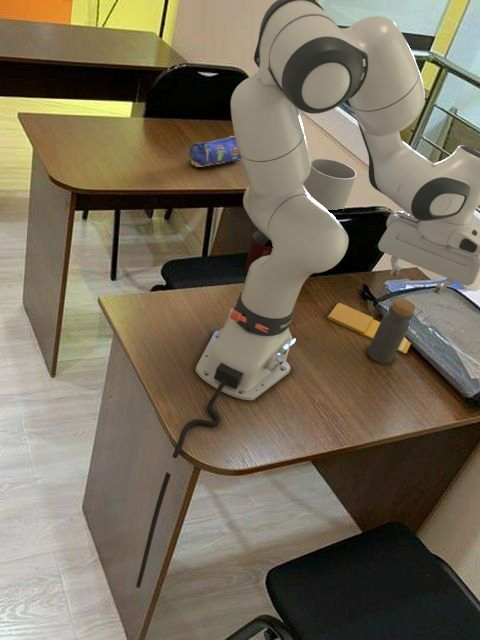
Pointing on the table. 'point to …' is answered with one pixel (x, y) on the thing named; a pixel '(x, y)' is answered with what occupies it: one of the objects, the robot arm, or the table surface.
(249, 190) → the robot arm
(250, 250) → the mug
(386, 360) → the bottle
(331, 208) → the cylinder vase
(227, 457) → the table surface
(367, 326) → the flat rectangular block
